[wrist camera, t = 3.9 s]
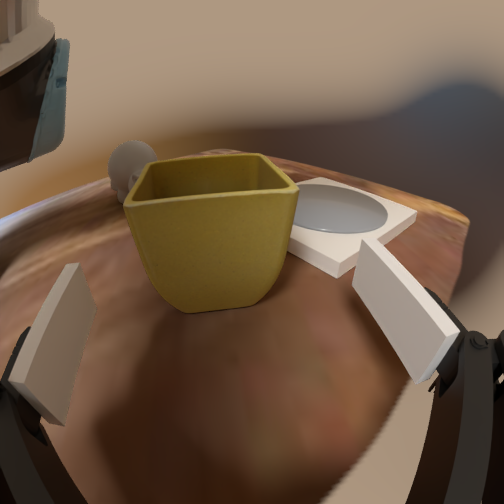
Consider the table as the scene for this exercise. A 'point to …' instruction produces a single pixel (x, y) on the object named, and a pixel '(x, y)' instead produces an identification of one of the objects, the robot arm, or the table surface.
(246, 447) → the table surface
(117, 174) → the hippopotamus figurine
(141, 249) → the flower pot
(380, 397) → the table surface
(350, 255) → the tile stand
